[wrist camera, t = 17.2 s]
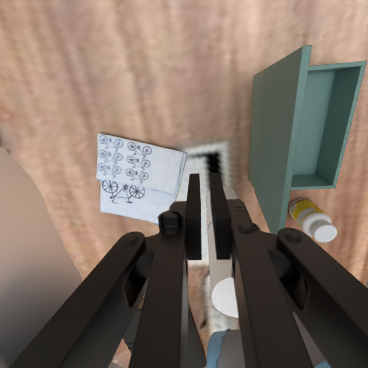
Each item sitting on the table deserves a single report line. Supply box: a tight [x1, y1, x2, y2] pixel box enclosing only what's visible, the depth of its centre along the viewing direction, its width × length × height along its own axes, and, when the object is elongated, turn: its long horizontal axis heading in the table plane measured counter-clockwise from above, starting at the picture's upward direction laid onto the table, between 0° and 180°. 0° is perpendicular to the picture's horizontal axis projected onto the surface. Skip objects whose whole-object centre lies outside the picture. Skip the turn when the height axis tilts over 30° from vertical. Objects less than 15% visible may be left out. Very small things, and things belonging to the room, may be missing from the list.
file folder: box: [123, 299, 206, 368], centre depth 65 cm, size 33×4×24 cm
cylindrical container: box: [206, 185, 239, 318], centre depth 34 cm, size 7×7×25 cm
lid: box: [255, 45, 312, 235], centre depth 26 cm, size 15×20×1 cm
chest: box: [248, 61, 367, 190], centre depth 36 cm, size 14×20×7 cm
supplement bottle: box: [289, 198, 337, 243], centre depth 41 cm, size 5×5×10 cm
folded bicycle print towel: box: [96, 133, 187, 225], centre depth 45 cm, size 19×20×2 cm
